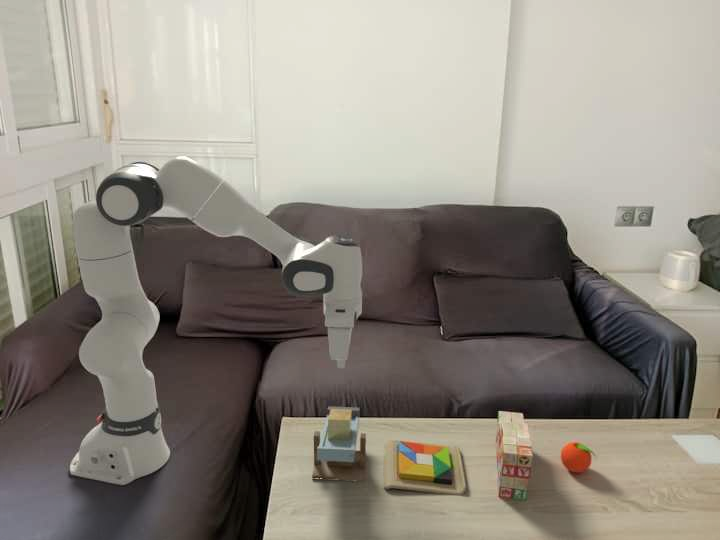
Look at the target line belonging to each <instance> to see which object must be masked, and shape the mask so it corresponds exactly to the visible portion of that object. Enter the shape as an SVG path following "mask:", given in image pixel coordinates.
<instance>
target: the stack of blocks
mask: <svg viewBox="0 0 720 540" xmlns="http://www.w3.org/2000/svg"><path fill="white" fill-rule="evenodd" d="M524 419H525V418H524V413H522V412H513V411H511V412H510V411H504V410H503V411H502V410H499V411H498V412H497V421H496V423H497V426H496V435H495V436H496V437H495V445H496V446H495V450H496V451H495V452H496V466H497V468H496V469H497V492H498V493H497V495H498V498H502V499H510V500H511V499H512V500H520V501H527V499H528V491H529V483H530V478H531V473H532V465H533V464H532V463H533V459H534V455H533V448H532V441H531V435H530V430H529V425H528V423H526V422H525V420H524Z"/></svg>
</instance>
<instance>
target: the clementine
mask: <svg viewBox="0 0 720 540" xmlns="http://www.w3.org/2000/svg"><path fill="white" fill-rule="evenodd" d="M592 455H593V456H594V457H595V459H596V460H597V457H596V455H595V453H594V452H593V451H592V450H591V449H590V448H589V447H587V446H585V444H582V443H580V442H577V441H575V442H569V443H567V444H565V445H564V446H563V448H562V449H561V451H560V460H561V463H562V465H563V466H564V467H565V468H566V469H567V470H568V471H570V472H573V473H583V472H586V471H587V470H588V469H589V468H590V466H591V464H592Z"/></svg>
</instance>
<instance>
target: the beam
mask: <svg viewBox="0 0 720 540" xmlns="http://www.w3.org/2000/svg"><path fill="white" fill-rule="evenodd" d="M331 409H346V410H352V419H351V434H350V440H349V441H342V440H328V418H329V414H330V410H331ZM326 410H327V411H326V412H327V415H326V419H325V422H324V426H323V429H322V433H321V436H320V444H319V447H317V460H321V461H342V462H354V456H355V451H356V448H357V439H358V434H359V433H358V431H359V427H360V426H359V424H360V407H352V406H348V407H347V406H329V405H328V407H327V409H326Z"/></svg>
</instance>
